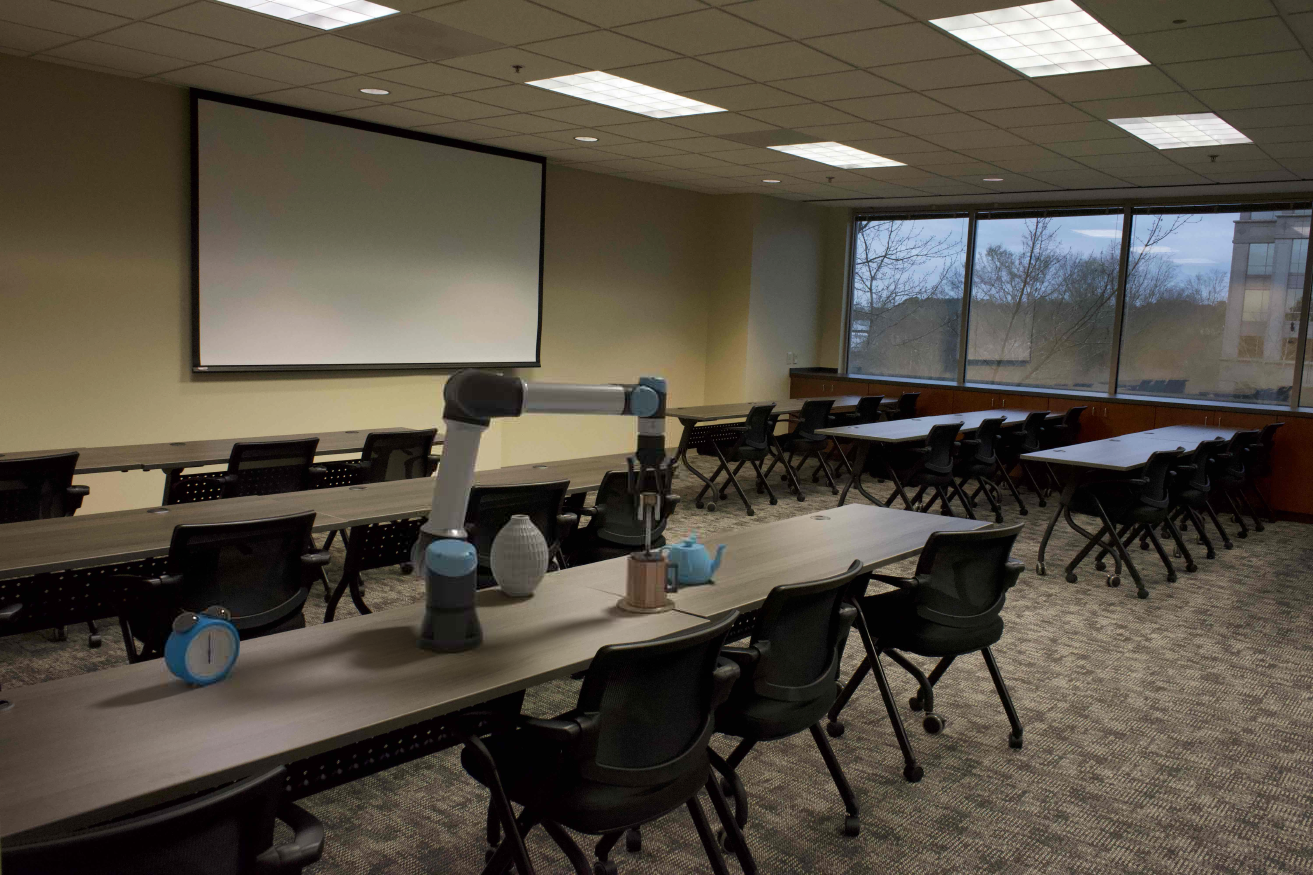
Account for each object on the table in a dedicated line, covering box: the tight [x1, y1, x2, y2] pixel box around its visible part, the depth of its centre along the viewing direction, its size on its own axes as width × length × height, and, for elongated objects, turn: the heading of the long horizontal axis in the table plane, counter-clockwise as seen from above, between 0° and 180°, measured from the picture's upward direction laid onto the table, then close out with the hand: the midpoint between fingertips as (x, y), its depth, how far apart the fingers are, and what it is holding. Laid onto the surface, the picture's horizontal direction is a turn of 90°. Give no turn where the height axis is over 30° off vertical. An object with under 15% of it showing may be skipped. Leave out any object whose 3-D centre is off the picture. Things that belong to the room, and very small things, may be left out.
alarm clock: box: [163, 605, 241, 689], centre depth 189 cm, size 13×6×15 cm, turn 148°
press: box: [616, 551, 679, 614], centre depth 255 cm, size 16×16×14 cm
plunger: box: [641, 492, 658, 562], centre depth 254 cm, size 7×7×20 cm
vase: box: [489, 514, 549, 597], centre depth 263 cm, size 16×16×22 cm
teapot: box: [658, 533, 729, 585], centre depth 285 cm, size 17×19×12 cm
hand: (648, 518), depth 253 cm, fingers closed on plunger, 4 cm apart
